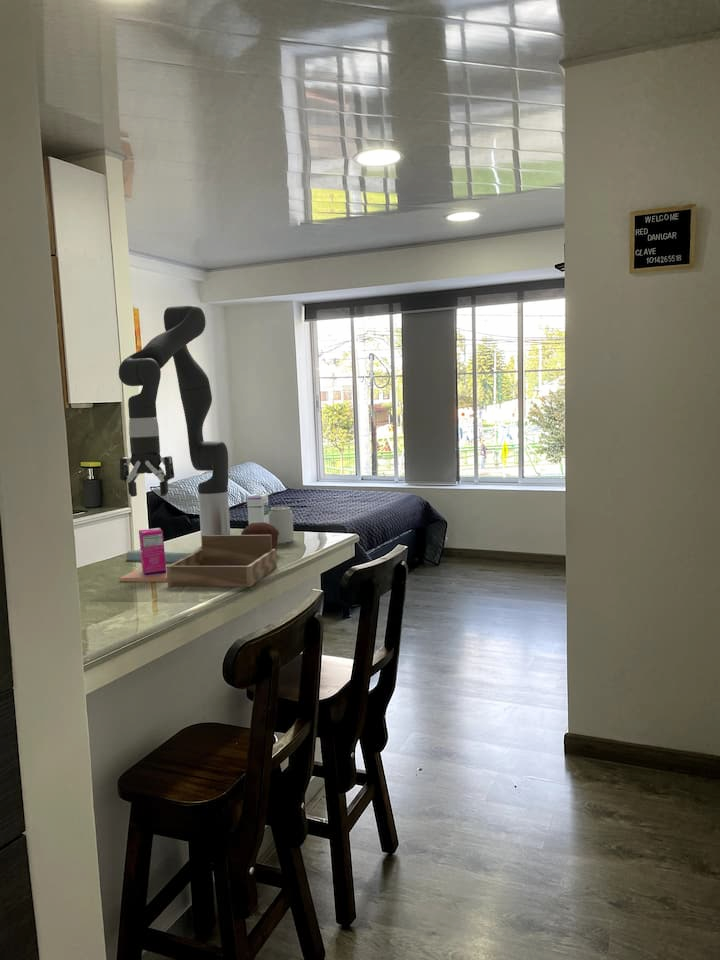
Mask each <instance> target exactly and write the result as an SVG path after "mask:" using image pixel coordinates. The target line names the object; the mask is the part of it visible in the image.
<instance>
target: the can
mask: <svg viewBox="0 0 720 960" xmlns="http://www.w3.org/2000/svg"><path fill="white" fill-rule="evenodd" d="M293 518H294V517H293V511H292V510H291V507H290V506H274V507H271V508H270V510H269V524H271V525H272V526H274V527H275V528H276V529H277V530H278V532H279V533H280V534H279V536H278V541H277V544H287V543H286V542H289V543H291V541H292V542H293V540H295V538H294V537H295V536H294V519H293Z"/></svg>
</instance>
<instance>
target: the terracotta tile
mask: <svg viewBox="0 0 720 960" xmlns="http://www.w3.org/2000/svg"><path fill="white" fill-rule="evenodd" d="M119 582H126V583H127V582H128V583H129V582H132V583H133V582H135V583H136V582H145V583H146V582H148V583H149V582H152V583H153V582H155V583H156V582H159V583H160V582H161V583H162V582H163V583H165V582H167V583H168V581H167V566H166V573H159V574H151V575H145V574H144V572H143V571H142V566H141V567H139V568H137V569H134V570H133V571H131V572H129V573H126V574H124V575H122V576H120V577H119Z"/></svg>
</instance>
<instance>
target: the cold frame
mask: <svg viewBox="0 0 720 960" xmlns="http://www.w3.org/2000/svg"><path fill="white" fill-rule="evenodd" d="M191 553H192V554H190V555H188V556H186V557H184V558H182V559H180V560H178V561H177V562H175V563H171V564H169V565H166V567H167V586H168V587H246V588H247V587H250V588H251V587H253V586H254V585H256V583H258V582H259V581H261V579H263V578H264V577H265V576H266V575H268V574H270V573H271V572H272V571H273V570H275V569H276V568H277V565H278V564H277V563H278V562H277V551H276V549H272V535H241V534H230V535H202V545H201V549H198V550H196V551H195V552H191Z"/></svg>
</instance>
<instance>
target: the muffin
mask: <svg viewBox="0 0 720 960" xmlns="http://www.w3.org/2000/svg"><path fill="white" fill-rule="evenodd" d="M279 534H280V533H279V532H278V530H277V529H276V528H275V527H274V526H272V525H271V524H269V523H264V522H258V523H253V524H250V525H249V524H248V525H247V526H246V527H245V528H243V530H242V531H241V534H240V535H272V549H276V552H277V549H278V543H277V541H278V536H279Z"/></svg>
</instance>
